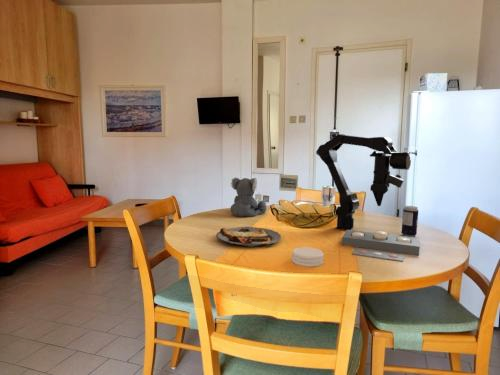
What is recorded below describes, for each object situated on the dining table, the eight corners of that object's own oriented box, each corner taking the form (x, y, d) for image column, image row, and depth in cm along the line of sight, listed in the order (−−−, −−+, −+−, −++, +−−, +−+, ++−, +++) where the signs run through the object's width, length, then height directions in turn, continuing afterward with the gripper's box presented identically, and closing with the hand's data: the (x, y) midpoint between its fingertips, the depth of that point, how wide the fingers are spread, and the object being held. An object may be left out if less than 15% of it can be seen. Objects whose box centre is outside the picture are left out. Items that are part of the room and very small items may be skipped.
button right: (396, 248, 125) (397, 239, 125) (396, 244, 129) (397, 236, 129) (409, 249, 123) (410, 241, 123) (409, 246, 127) (410, 238, 127)
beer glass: (318, 214, 182) (320, 186, 180) (331, 214, 183) (333, 186, 180) (322, 217, 175) (324, 187, 173) (336, 217, 176) (337, 187, 174)
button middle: (373, 241, 128) (373, 233, 128) (374, 238, 132) (374, 230, 132) (386, 242, 126) (386, 234, 126) (386, 239, 130) (387, 232, 130)
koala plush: (268, 213, 183) (269, 176, 181) (251, 219, 168) (252, 179, 165) (240, 209, 192) (240, 174, 189) (221, 215, 177) (222, 177, 174)
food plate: (218, 249, 121) (218, 239, 121) (214, 232, 144) (214, 224, 144) (287, 248, 125) (287, 239, 125) (273, 232, 148) (273, 224, 148)
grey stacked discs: (329, 263, 110) (330, 252, 110) (307, 270, 104) (307, 258, 104) (307, 254, 118) (307, 245, 118) (285, 260, 112) (285, 250, 112)
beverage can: (417, 237, 140) (420, 208, 139) (402, 236, 141) (405, 207, 140) (414, 234, 146) (416, 206, 144) (399, 233, 147) (402, 205, 145)
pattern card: (351, 254, 119) (351, 253, 119) (354, 248, 125) (354, 247, 125) (402, 261, 112) (402, 260, 112) (402, 255, 119) (403, 254, 119)
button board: (341, 244, 129) (341, 237, 129) (346, 236, 140) (346, 229, 140) (418, 255, 119) (419, 246, 118) (417, 245, 130) (418, 237, 129)
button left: (350, 242, 132) (351, 234, 131) (352, 239, 136) (352, 231, 135) (362, 243, 130) (363, 235, 129) (364, 240, 134) (364, 233, 133)
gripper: (403, 170, 129) (399, 212, 131) (403, 167, 146) (400, 204, 148) (371, 169, 134) (369, 209, 136) (375, 166, 151) (373, 201, 153)
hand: (379, 206), depth 143 cm, fingers closed
